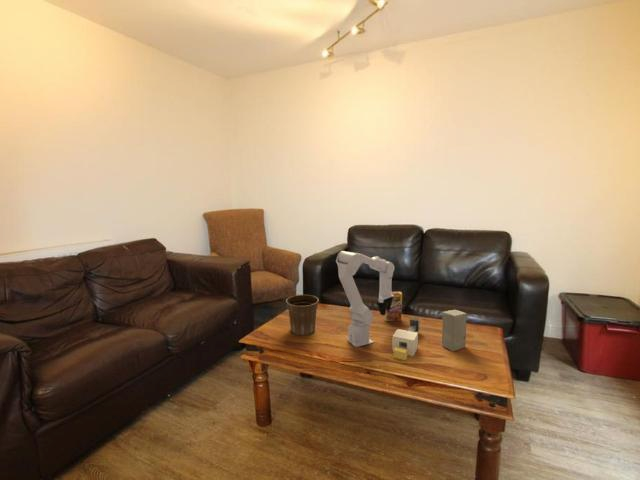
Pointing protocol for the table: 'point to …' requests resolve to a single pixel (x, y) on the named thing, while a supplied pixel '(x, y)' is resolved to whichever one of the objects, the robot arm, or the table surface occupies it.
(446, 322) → the skincare box
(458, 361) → the table surface
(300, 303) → the plant pot
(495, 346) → the table surface
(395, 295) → the candy box
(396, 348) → the block
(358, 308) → the robot arm
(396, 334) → the bearing block
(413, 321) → the shaft
